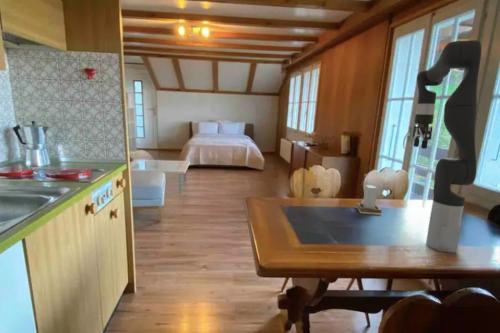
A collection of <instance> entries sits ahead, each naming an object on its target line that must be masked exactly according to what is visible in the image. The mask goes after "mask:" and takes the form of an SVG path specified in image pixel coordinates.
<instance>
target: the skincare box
mask: <svg viewBox="0 0 500 333" xmlns="http://www.w3.org/2000/svg"><path fill="white" fill-rule="evenodd" d="M363 191H364V192H363V193H364V194H363V200H362V201H363V202H362V204H363V208H367V209H375V205H377V204H376V202H377V198H378V197H377V195H378V188H377V186H374V185H370V184H365V185H364V190H363Z"/></svg>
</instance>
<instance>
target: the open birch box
mask: <svg viewBox="0 0 500 333" xmlns="http://www.w3.org/2000/svg"><path fill="white" fill-rule="evenodd" d="M356 209H357V211H359V213H360V214H366V215H367V214H368V215H379V216H381V215H382V209H381V208H380V207H379V206H378V204H376V205H375V209H367V208H363V203H362V202H361V203H359V202H358V203H357V202H356Z"/></svg>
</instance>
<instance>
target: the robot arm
mask: <svg viewBox="0 0 500 333" xmlns="http://www.w3.org/2000/svg"><path fill="white" fill-rule="evenodd" d="M481 58H482V43H481V42H480V41H479V40H475V39H473V40H472V39H471V40H456V41H451V42H448V43H446V44H445V46H444V47H443V48H442V49H441V51H440V53H439V55H438V57H437V58H436V61H435V62H434V64H433V65H431V67H430V68H428V69H427V70H426V69H424V70H420V71H419V73H418V74H417V77H416V84H417V88H418V98H417V105H416V109H415V116H414V117H415V118H414V124H417V125H414V126H413V131H412V135H411V136H412V138H413V139H414V141H413V147H417V148H419V146H420V142H421V147H420V148H421V149H427V148H428V142H429V141H430V140H432V135H433V126H429V125H433V123H434V116H435V110H436V99H437V92H435V91H433V90H428V89H427V87H437V86H440V85H441V84H442V83H443V81H444V79H445V77H447V75H449V74H450V72H451V70H452V69H464V74H463V77H462V80H461V82H460V83H459V84H458V86H457V87H456V88H455V89H454V91H453V92H452V94H451V95H450V96H449V97H448V98H447V100H446V101H445V105H444V109H443V110H444V112H443V124H444V126H445V128H446V130H447V132H448V133H449V135H450V136H451V138H452V139H453V140H454V143H455V144H456V147H457V151H458V158H450V157H449V158H448V157H447V158H446V157H445V158H441V159H439V160H438V162H437V163H436V166H435V171H434V181H433V193H432V194H433V196H432V198H433V199H432V204H431V211H430V216H429V224H428V227H427V228H428V229H427V234H426V235H427V236H426V242H425V244H426V245H427V246H428V247H429V248H431V249H433V250H435V251H437V252H440V253H441V252H442V253H451V254H452V253H453V254H456V253H457V251H458V248H459V247H458V246H459V241H460V240H459V239H460V237H461V236H460V235H461V230H462V228H461V223H462V217H463V211H464V207H465V202H466V199H465V197H464V196H463V195H461V194H458V193H456V192H454V191H452V190H451V185H455V186H470V185H472V184H473V183H474V181H475V180H476V177H477V156H476V155H477V154H476V123H477V109H478V108H477V106H478V103H477V102H478V96H477V95H478V81H479V80H478V79H479V73H480V64H481V60H482V59H481ZM420 139H422V140H420Z"/></svg>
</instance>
